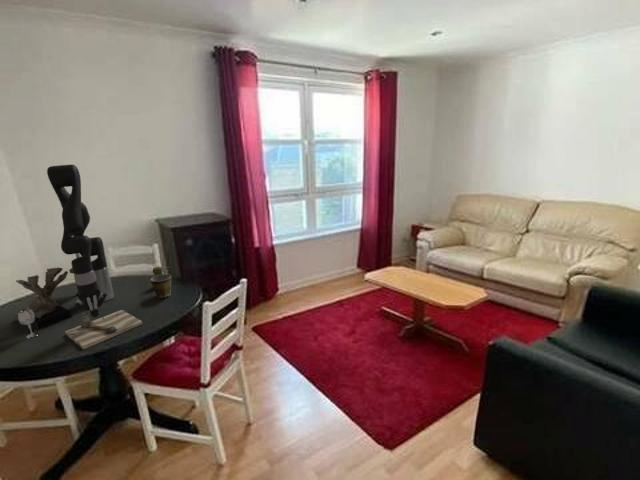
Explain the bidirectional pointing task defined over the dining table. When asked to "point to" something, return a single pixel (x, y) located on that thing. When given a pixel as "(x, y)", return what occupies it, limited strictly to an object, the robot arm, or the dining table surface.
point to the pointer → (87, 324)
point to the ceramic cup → (162, 285)
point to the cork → (157, 271)
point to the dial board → (94, 336)
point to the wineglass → (27, 319)
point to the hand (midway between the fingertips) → (95, 316)
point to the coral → (46, 299)
